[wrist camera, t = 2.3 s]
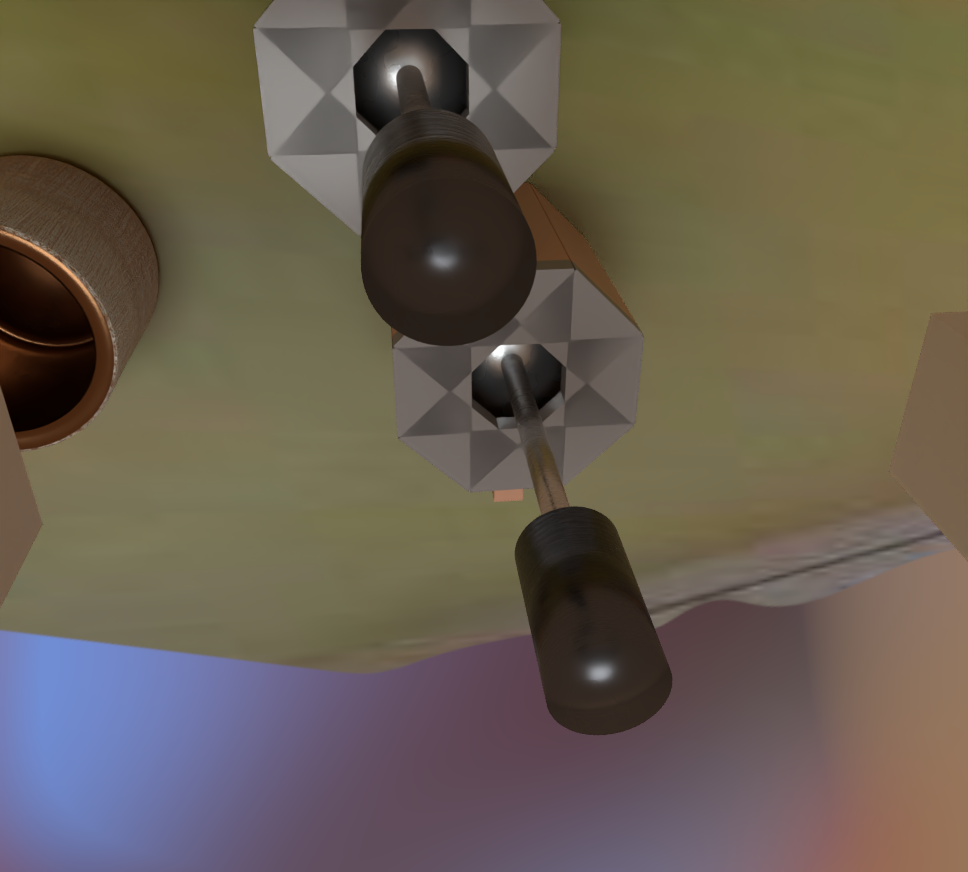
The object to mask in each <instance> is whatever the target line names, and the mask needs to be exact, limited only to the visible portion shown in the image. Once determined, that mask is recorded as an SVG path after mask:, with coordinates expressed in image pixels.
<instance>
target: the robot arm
mask: <svg viewBox="0 0 968 872" xmlns="http://www.w3.org/2000/svg"><path fill="white" fill-rule="evenodd" d="M889 473H890V474H891V475H892V476H893V477H894V478H895V479H896V481H897V482H898V483H899V484H900V485H901V486H902V487H903V489H904V490H905V491H906V492H907V493H908V494H909V495H910V496H911V498H912V499H913V500H914V501H915V502H916V503H917V504H918V506H919V507H920V508H921V509H922V510H923V511H924V512H925V513H926V515H927V516H928V517H929V518H930V519H931V520H932V521H933V523H934V524H935V525H936V526H937V527H938V528H939V529H940V530H941V532H942V533H943V534H944V535H945V536H946V537H947V538H948V540H949V541H950V542H951V543H952V544H953V545H954V546H955V547H956V549H957V550H958V551H959V552H960V553H961V554H962V555H963V557H964V558H965V559H966V560H967V561H968V312H946V313H931V316H930V320H929V323H928V327H927V331H926V335H925V338H924V342H923V346H922V349H921V353H920V357H919V360H918V364H917V368H916V372H915V375H914V379H913V383H912V386H911V390H910V394H909V398H908V401H907V405H906V409H905V412H904V416H903V420H902V424H901V427H900V431H899V435H898V438H897V442H896V446H895V450H894V453H893V457H892V461H891V464H890V468H889ZM41 526H42V521H41V517H40V514H39V511H38V508H37V504H36V501H35V498H34V495H33V491H32V488H31V485H30V482H29V478H28V475H27V472H26V469H25V465H24V462H23V459H22V455H21V452H20V449H19V446H18V442H17V439H16V436H15V433H14V429H13V426H12V423H11V420H10V416H9V413H8V410H7V406H6V403H5V400H4V397H3V393H2V390H1V387H0V607H1V606H2V604H3V602H4V600H5V598H6V596H7V594H8V592H9V590H10V588H11V586H12V584H13V582H14V580H15V578H16V576H17V574H18V572H19V570H20V568H21V566H22V564H23V562H24V560H25V558H26V556H27V554H28V552H29V550H30V548H31V546H32V544H33V542H34V540H35V538H36V536H37V534H38V532H39V530H40V528H41Z"/></svg>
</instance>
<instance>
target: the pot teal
mask: <svg viewBox="0 0 968 872" xmlns="http://www.w3.org/2000/svg"><path fill="white" fill-rule="evenodd" d="M389 29H435V30H436V31H437V32H438V33H439V34H440V35H441V36H442V37H443V38H444V40H445V41H446V42H447V43H448V44H449V45H450V46H451V47H452V48H453V49H454V50H455V51H456V52H457V53H458V54H459V55H460V56H461V57H462V58H463V59H464V60H465V61H466V96H467V108H466V109H465V111H464V112H463V113H462V114H461V116H463V117H465V118H466V119H468V120H469V121H471V122H472V123H473V124H475V125H476V126H477V127H478V128H479V129H480V130H481V131H482V132H483V133H484V135H485V136H486V137H487V139H488V141H489V142H490V144H491V146H492V148H493V150H494V152H495V154H496V156H497V159H498V161H499V163H500V165H501V167H502V169H503V171H504V174H505V176H506V178H507V180H508V182H509V184H510V187H511V189H512V191H513V193H514V192H515V191H516V190H517V189H518V188H519V187H520V186H521V185H522V184H523V183H524V182H525V181H526V180H527V179H528V178H529V177H530V176H531V175H532V174H533V173H534V172H535V171H536V170H537V169H538V168H539V167H540V166H541V165H542V164H543V163H544V162H545V161H546V160H547V158H548V157H549V156H550V155H551V154H552V153H553V152H554V151H555V149H554V148H556V145H557V120H558V95H559V70H560V44H561V23H560V20H559V19H558V17H557V16H556V15H555V14H554V13H553V12H552V11H551V9H550V8H549V7H548V6H547V5H546V4H545V3H544V1H543V0H272V2H271V3H270V4H269V6H268V7H267V8H266V10H265V11H264V12H263V14H262V15H261V16H260V18H259V19H258V20H257V22H256V23H255V24H254V28H253V33H254V41H255V49H256V58H257V66H258V74H259V83H260V91H261V99H262V107H263V116H264V124H265V132H266V141H267V149H268V156H271V157H270V159H271V160H272V161H273V162H274V163H275V164H276V165H278V166H279V167H280V168H281V169H282V170H283V171H284V172H286V173H287V174H288V175H289V176H290V177H291V178H293V179H294V180H295V181H296V182H297V183H298V184H300V185H301V186H302V187H303V188H304V189H305V190H306V191H308V192H309V193H310V194H311V195H312V196H313V197H315V198H316V199H317V200H318V201H319V202H320V203H322V204H323V205H324V206H325V207H326V208H327V209H329V210H330V211H331V212H332V213H333V214H334V215H335V216H337V217H338V218H339V219H340V220H341V221H342V222H344V223H345V224H346V225H347V226H348V227H349V228H351V229H352V230H353V231H354V232H355V233H356V234H357V235H359V236H360V235H361V229H362V170H363V163H364V159H365V155H366V153H367V150H368V148H369V146H370V144H371V142H372V141H373V139H374V137H375V136H376V135H377V134H378V131H377V130H376V129H375V128H374V127H373V126H372V125H371V124H370V123H369V122H368V121H367V120H366V119H365V118H363V117H362V116H361V115H360V114H359V113H358V112H357V111H356V97H355V83H354V68H353V66H354V65H355V64H356V63H357V62H358V60H359V59H360V58H361V57H362V56H363V55H364V53H365V52H366V51H367V50H368V49H369V48H370V46H371V45H372V44H373V43H374V42H375V41H376V39H377V38H378V37H379V36H380V35H381V34H382V33H383V31H384V30H389Z"/></svg>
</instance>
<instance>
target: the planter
mask: <svg viewBox="0 0 968 872" xmlns="http://www.w3.org/2000/svg"><path fill="white" fill-rule="evenodd" d="M158 285H159V272H158V264H157V258H156V254H155V251H154V247H153V244H152V242H151V240H150V237H149V235H148V233H147V231H146V229H145V227H144V226H143V224H142V222H141V221H140V219H139V218H138V216H137V215H136V213H135V212H134V211H133V210H132V209H131V207H130V206H129V205H128V204H127V203H126V202H125V201H124V200H123V199H122V198H121V197H120V196H119V195H118V194H117V193H116V192H115V191H114V190H112V189H111V188H110V187H109V186H108V185H106V184H105V183H103V182H102V181H101V180H99V179H97V178H96V177H94V176H92V175H91V174H89V173H87V172H85V171H83V170H81V169H79V168H77V167H75V166H72V165H70V164H67V163H64V162H61V161H57V160H54V159H49V158H45V157H39V156H29V155H14V156H3V157H0V387H1V390H2V393H3V397H4V400H5V403H6V406H7V410H8V413H9V416H10V420H11V423H12V426H13V429H14V433H15V436H16V439H17V442H18V446H19V449H20V452H21V451H30V450H36V449H40V448H44V447H48V446H51V445H54V444H57V443H59V442H62V441H64V440H66V439H68V438H70V437H72V436H73V435H75V434H77V433H78V432H79V431H81V430H82V429H84V428H85V427H86V426H87V425H88V424H89V423H91V422H92V421H93V420H94V419H95V417H96V416H97V415H98V414H99V413H100V411H101V410H102V409H103V407H104V406H105V404H106V403H107V401H108V399H109V397H110V395H111V393H112V391H113V389H114V387H115V385H116V383H117V381H118V379H119V377H120V375H121V373H122V371H123V370H124V368H125V366H126V364H127V362H128V360H129V358H130V356H131V355H132V353H133V351H134V349H135V347H136V345H137V344H138V342H139V340H140V338H141V336H142V334H143V332H144V330H145V328H146V326H147V324H148V323H149V321H150V319H151V316H152V314H153V311H154V308H155V305H156V300H157V295H158Z"/></svg>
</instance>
